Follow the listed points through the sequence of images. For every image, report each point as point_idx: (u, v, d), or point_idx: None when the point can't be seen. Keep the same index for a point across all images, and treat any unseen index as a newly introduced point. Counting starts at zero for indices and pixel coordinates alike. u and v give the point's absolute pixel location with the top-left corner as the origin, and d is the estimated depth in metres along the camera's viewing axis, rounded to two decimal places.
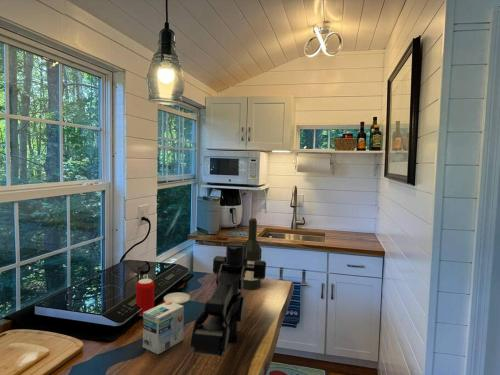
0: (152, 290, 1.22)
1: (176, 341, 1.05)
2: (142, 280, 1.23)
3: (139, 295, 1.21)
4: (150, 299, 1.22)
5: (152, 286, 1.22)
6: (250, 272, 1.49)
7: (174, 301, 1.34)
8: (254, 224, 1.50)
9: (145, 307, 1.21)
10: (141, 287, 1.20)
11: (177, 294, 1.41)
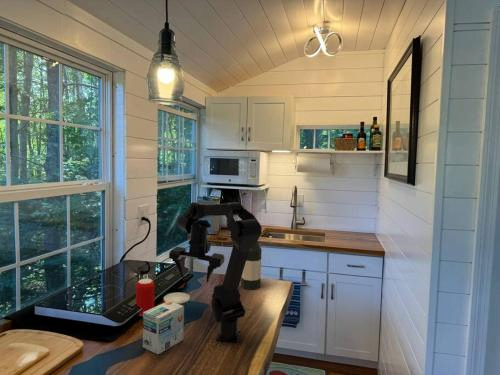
0: (152, 290, 1.22)
1: (176, 341, 1.05)
2: (142, 280, 1.23)
3: (139, 295, 1.21)
4: (150, 299, 1.22)
5: (152, 286, 1.22)
6: (250, 272, 1.49)
7: (174, 301, 1.34)
8: None
9: (145, 307, 1.21)
10: (141, 287, 1.20)
11: (177, 294, 1.41)
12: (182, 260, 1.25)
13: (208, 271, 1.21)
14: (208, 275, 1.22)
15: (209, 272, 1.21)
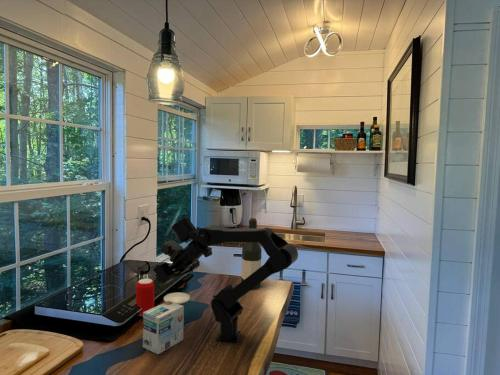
0: (152, 290, 1.22)
1: (176, 341, 1.05)
2: (142, 280, 1.23)
3: (139, 295, 1.21)
4: (150, 299, 1.22)
5: (152, 286, 1.22)
6: (250, 272, 1.49)
7: (174, 301, 1.34)
8: (254, 224, 1.50)
9: (145, 307, 1.21)
10: (141, 287, 1.20)
11: (177, 294, 1.41)
12: None
13: None
14: None
15: (185, 273, 1.23)
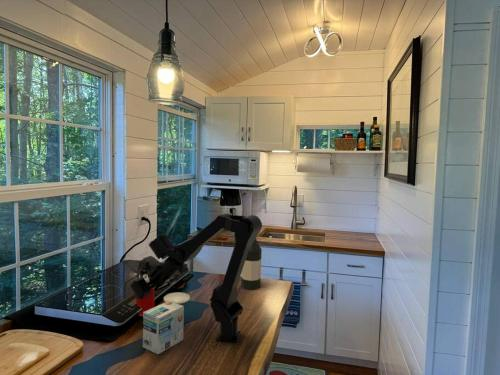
0: (152, 290, 1.22)
1: (176, 341, 1.05)
2: None
3: None
4: (150, 299, 1.22)
5: None
6: (250, 272, 1.49)
7: (174, 301, 1.34)
8: None
9: (145, 307, 1.21)
10: None
11: (177, 294, 1.41)
12: None
13: (160, 288, 1.26)
14: None
15: (161, 288, 1.26)
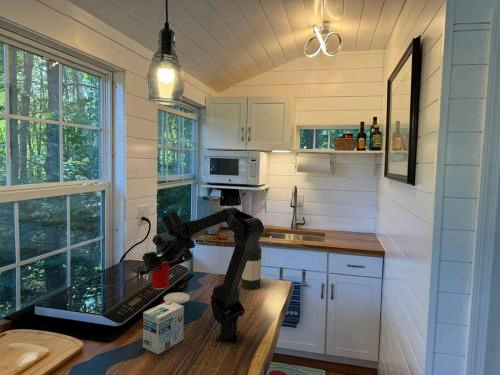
0: (166, 265, 1.29)
1: (176, 341, 1.05)
2: (158, 255, 1.31)
3: None
4: (164, 273, 1.28)
5: None
6: (250, 272, 1.49)
7: (174, 301, 1.34)
8: None
9: (158, 280, 1.28)
10: None
11: (177, 294, 1.41)
12: None
13: (175, 264, 1.31)
14: None
15: None
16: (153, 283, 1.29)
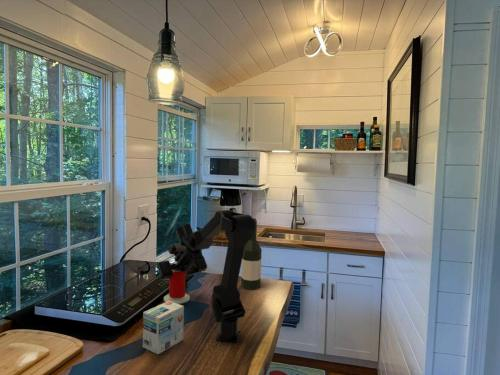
0: (181, 277, 1.35)
1: (176, 341, 1.05)
2: None
3: (170, 279, 1.35)
4: (179, 284, 1.35)
5: (181, 273, 1.35)
6: (250, 272, 1.49)
7: (174, 301, 1.34)
8: None
9: (174, 291, 1.35)
10: None
11: None
12: None
13: None
14: (191, 274, 1.39)
15: (194, 273, 1.38)
16: (169, 293, 1.36)
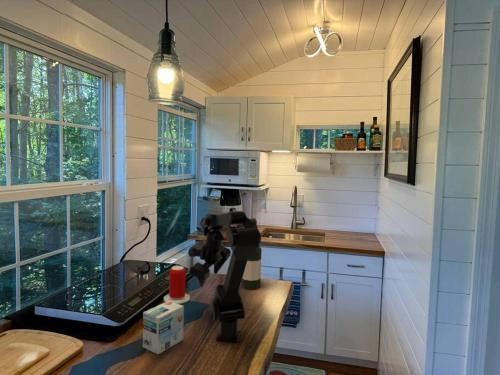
0: (181, 277, 1.35)
1: (176, 341, 1.05)
2: (175, 266, 1.38)
3: (170, 279, 1.35)
4: (179, 284, 1.35)
5: (181, 273, 1.35)
6: (250, 272, 1.49)
7: (174, 301, 1.34)
8: None
9: (174, 291, 1.35)
10: (171, 273, 1.35)
11: None
12: None
13: (222, 264, 1.33)
14: (220, 267, 1.34)
15: (223, 264, 1.33)
16: (169, 293, 1.36)
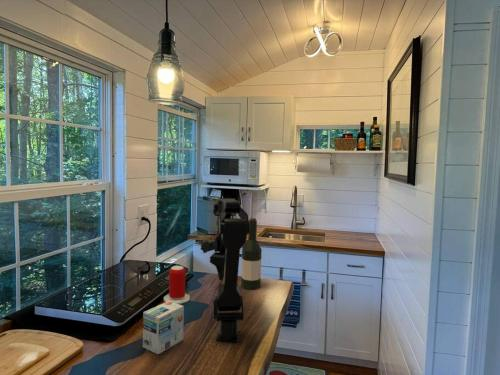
0: (181, 277, 1.35)
1: (176, 341, 1.05)
2: (175, 266, 1.38)
3: (169, 279, 1.35)
4: (179, 284, 1.35)
5: (181, 273, 1.35)
6: (250, 272, 1.49)
7: (174, 301, 1.34)
8: (254, 224, 1.50)
9: (174, 291, 1.35)
10: (171, 273, 1.35)
11: None
12: None
13: None
14: None
15: None
16: (169, 293, 1.36)
